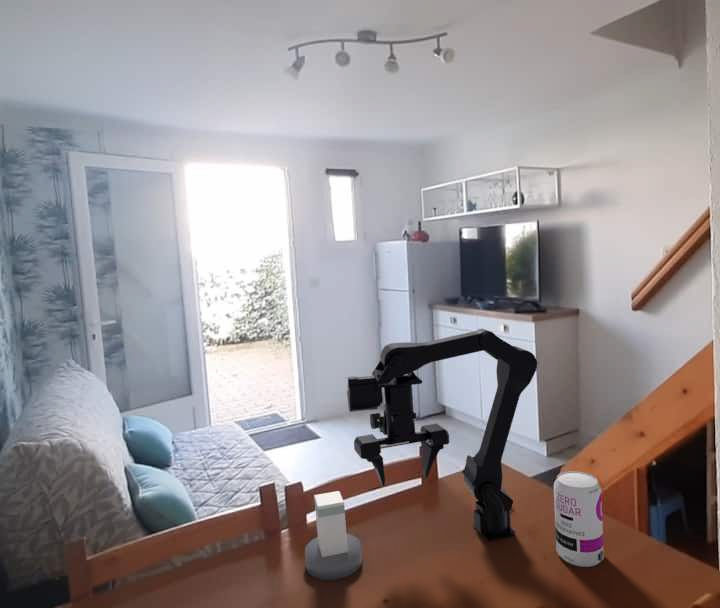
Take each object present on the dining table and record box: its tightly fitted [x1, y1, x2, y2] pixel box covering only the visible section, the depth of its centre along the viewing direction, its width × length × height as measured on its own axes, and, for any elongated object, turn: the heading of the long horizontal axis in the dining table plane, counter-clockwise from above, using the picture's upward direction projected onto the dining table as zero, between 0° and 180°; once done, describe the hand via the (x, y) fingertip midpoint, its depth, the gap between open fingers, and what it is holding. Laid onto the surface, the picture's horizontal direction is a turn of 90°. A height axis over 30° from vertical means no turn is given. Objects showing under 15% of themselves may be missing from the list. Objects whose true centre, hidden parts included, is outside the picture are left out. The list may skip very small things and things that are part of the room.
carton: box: [313, 490, 348, 557], centre depth 99 cm, size 5×5×10 cm
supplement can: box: [553, 471, 605, 568], centre depth 96 cm, size 8×8×15 cm
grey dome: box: [304, 533, 363, 581], centre depth 100 cm, size 11×11×3 cm
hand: (404, 481), depth 104 cm, fingers open, 9 cm apart
